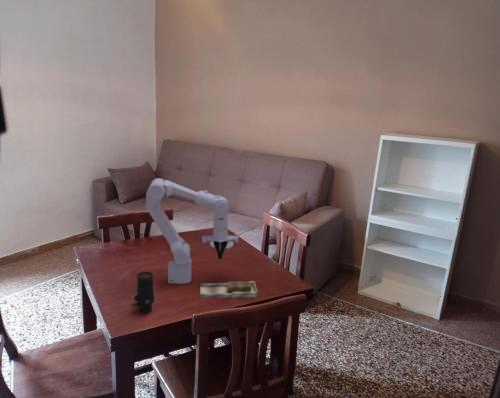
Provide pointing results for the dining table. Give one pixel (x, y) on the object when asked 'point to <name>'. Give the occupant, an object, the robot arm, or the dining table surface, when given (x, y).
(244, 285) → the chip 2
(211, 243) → the monster figurine
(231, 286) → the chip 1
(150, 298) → the scope
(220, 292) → the slot board
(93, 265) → the dining table surface
